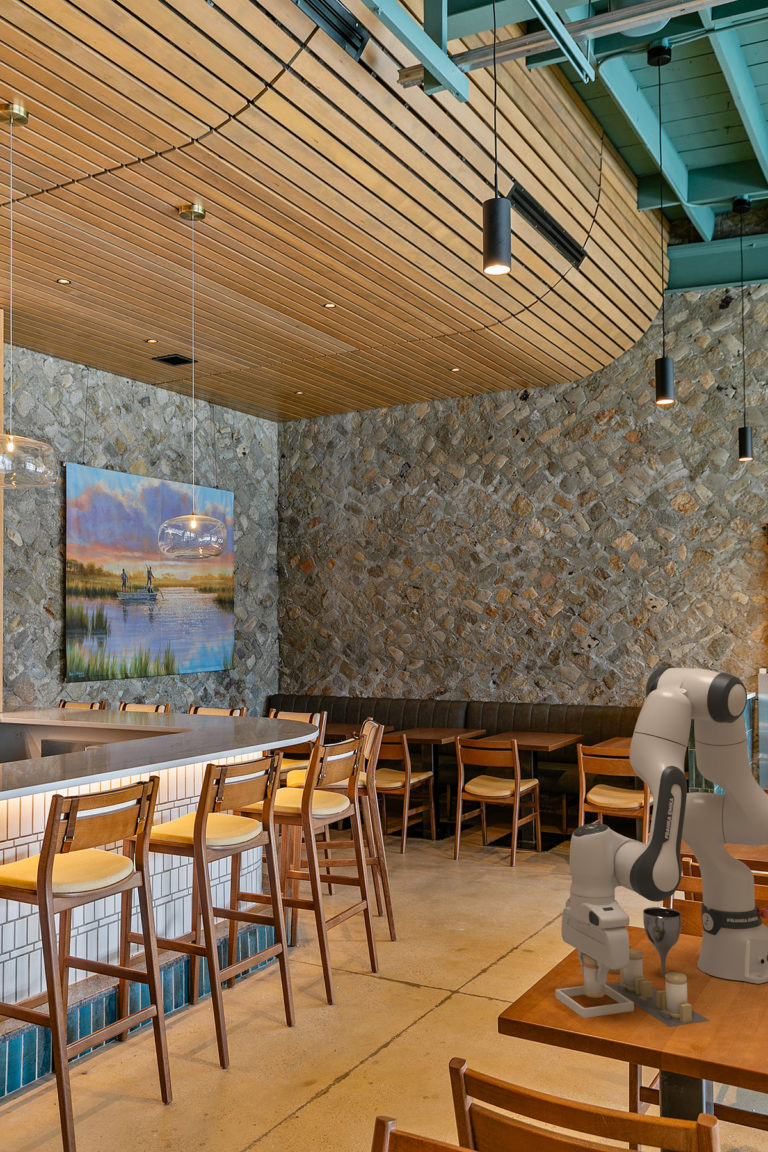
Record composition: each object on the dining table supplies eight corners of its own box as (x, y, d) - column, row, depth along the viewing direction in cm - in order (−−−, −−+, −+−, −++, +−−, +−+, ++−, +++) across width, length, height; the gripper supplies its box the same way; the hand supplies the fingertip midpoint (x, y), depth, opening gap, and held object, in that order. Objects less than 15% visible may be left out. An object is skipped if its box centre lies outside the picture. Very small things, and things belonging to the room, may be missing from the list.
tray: (603, 998, 194) (603, 983, 194) (634, 1018, 183) (633, 1002, 184) (555, 1004, 191) (555, 989, 191) (583, 1025, 180) (583, 1009, 180)
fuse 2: (679, 1010, 183) (678, 971, 184) (692, 1018, 180) (691, 977, 180) (662, 1013, 182) (661, 973, 183) (674, 1020, 178) (673, 980, 179)
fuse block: (641, 987, 200) (640, 965, 200) (710, 1028, 178) (709, 1004, 179) (604, 992, 197) (603, 970, 198) (669, 1034, 176) (669, 1010, 176)
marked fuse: (580, 991, 188) (579, 953, 189) (597, 989, 189) (597, 951, 190) (590, 998, 184) (590, 959, 185) (608, 996, 186) (608, 957, 186)
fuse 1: (636, 984, 198) (635, 947, 198) (647, 991, 194) (646, 953, 194) (619, 986, 196) (619, 949, 197) (630, 993, 193) (629, 955, 193)
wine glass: (642, 986, 200) (641, 915, 201) (646, 974, 208) (645, 905, 209) (681, 991, 197) (679, 919, 198) (684, 979, 205) (682, 909, 206)
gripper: (553, 896, 197) (554, 963, 196) (606, 922, 178) (607, 997, 177) (579, 893, 199) (580, 960, 198) (634, 919, 180) (636, 993, 179)
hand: (593, 978), depth 187 cm, fingers closed on marked fuse, 4 cm apart
